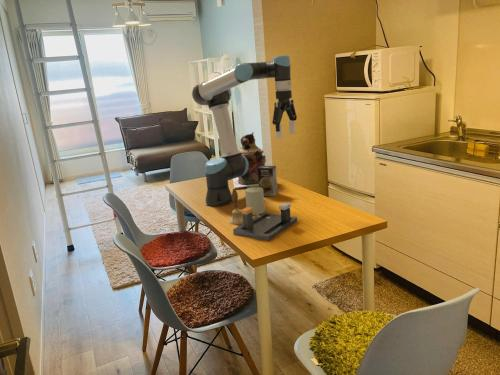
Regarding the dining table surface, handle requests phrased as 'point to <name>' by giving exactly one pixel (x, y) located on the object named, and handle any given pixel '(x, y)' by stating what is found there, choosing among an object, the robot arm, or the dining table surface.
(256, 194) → the can
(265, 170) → the coffee box
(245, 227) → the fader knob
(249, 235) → the dark grey stand
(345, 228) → the dining table surface
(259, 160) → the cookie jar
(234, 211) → the hand bell
